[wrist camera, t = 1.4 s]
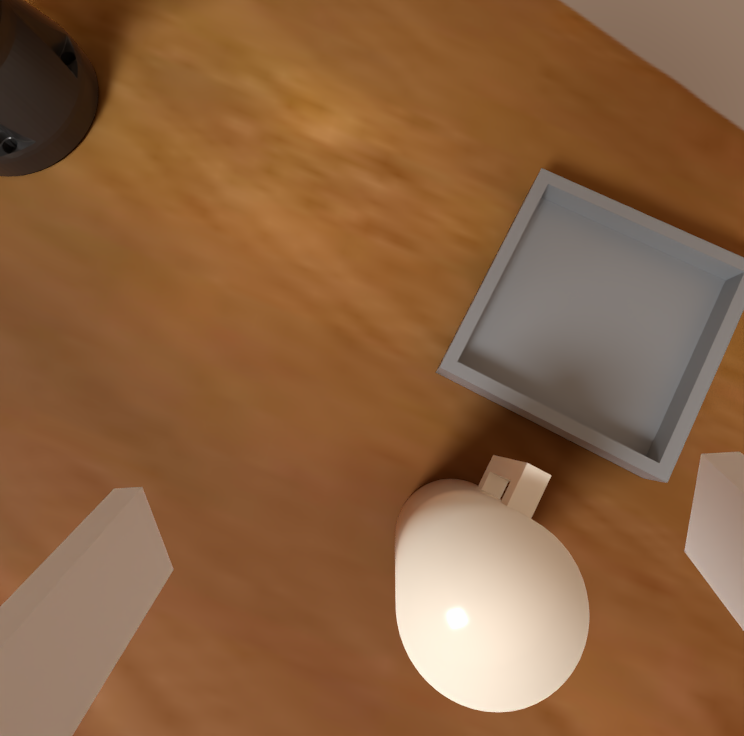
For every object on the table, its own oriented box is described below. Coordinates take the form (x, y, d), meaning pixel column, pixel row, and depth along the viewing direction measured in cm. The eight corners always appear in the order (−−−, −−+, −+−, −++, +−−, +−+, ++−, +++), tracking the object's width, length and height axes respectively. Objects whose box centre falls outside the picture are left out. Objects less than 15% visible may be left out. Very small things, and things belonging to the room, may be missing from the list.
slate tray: (435, 372, 37) (439, 367, 34) (530, 188, 39) (541, 168, 36) (644, 478, 35) (667, 482, 32) (733, 279, 37) (763, 266, 34)
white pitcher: (374, 562, 35) (362, 647, 21) (441, 430, 36) (470, 429, 22) (479, 621, 34) (538, 751, 20) (544, 484, 35) (642, 518, 21)
